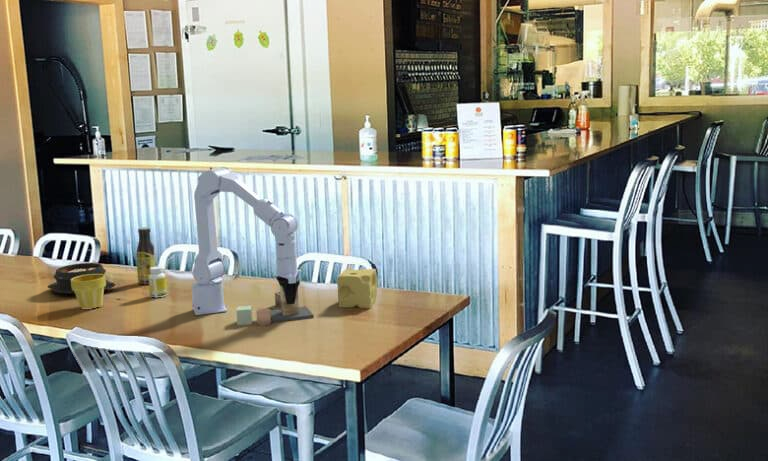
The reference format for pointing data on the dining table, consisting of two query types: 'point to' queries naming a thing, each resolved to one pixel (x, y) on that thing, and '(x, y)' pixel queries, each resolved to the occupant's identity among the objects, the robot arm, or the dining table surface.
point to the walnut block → (278, 299)
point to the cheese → (357, 288)
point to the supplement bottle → (157, 282)
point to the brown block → (263, 317)
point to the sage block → (244, 315)
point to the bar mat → (303, 314)
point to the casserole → (71, 271)
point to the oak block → (289, 308)
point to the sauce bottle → (144, 255)
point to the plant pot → (89, 289)
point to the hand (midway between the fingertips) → (289, 301)
